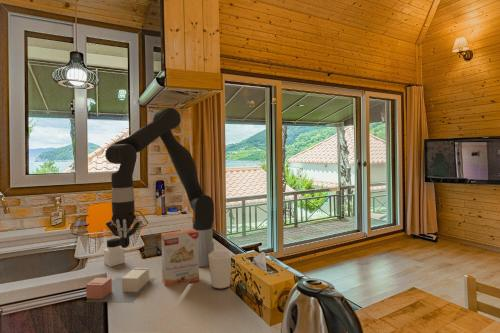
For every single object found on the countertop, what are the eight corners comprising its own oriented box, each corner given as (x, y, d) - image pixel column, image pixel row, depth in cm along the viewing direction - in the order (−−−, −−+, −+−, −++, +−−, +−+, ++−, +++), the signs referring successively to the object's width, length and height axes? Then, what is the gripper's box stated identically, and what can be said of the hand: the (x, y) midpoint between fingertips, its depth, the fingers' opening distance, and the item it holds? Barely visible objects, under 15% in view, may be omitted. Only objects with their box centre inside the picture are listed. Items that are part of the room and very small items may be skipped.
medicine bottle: (124, 262, 142) (124, 238, 142) (109, 267, 137) (108, 241, 136) (118, 259, 147) (117, 236, 147) (103, 263, 142) (103, 239, 141)
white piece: (156, 281, 121) (155, 266, 121) (132, 306, 101) (131, 288, 101) (116, 280, 122) (116, 265, 122) (86, 304, 102) (85, 286, 102)
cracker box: (165, 289, 113) (163, 236, 112) (162, 283, 118) (160, 232, 117) (200, 281, 119) (198, 231, 119) (195, 276, 125) (194, 228, 124)
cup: (218, 278, 122) (218, 248, 122) (238, 283, 117) (238, 252, 117) (203, 288, 114) (202, 256, 113) (224, 294, 109) (223, 260, 108)
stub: (112, 290, 109) (111, 277, 109) (102, 298, 104) (102, 284, 103) (96, 290, 110) (96, 277, 110) (86, 298, 104) (86, 284, 104)
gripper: (145, 197, 108) (147, 244, 109) (111, 198, 109) (113, 244, 110) (135, 201, 101) (137, 250, 101) (99, 201, 102) (101, 250, 103)
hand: (125, 247), depth 106 cm, fingers closed
